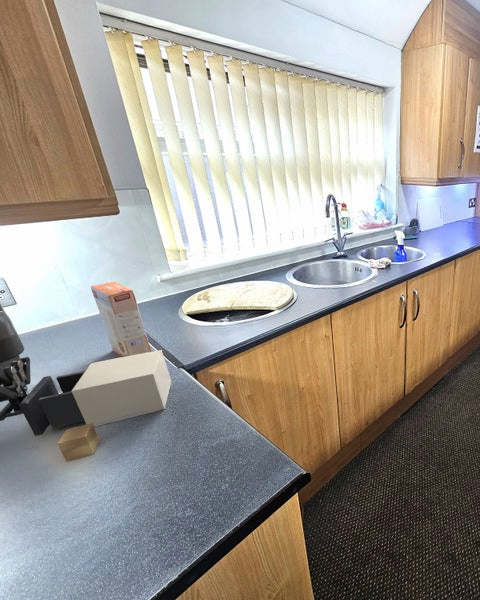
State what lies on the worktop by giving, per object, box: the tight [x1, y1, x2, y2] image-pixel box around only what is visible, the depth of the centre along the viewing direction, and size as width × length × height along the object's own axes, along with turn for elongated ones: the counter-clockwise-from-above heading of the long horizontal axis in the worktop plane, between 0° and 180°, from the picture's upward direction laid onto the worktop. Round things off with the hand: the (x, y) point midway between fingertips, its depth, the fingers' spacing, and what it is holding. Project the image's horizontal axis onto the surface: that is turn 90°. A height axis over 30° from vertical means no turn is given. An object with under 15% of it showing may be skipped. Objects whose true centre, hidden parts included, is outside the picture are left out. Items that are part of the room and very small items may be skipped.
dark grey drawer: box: [0, 370, 86, 437], centre depth 70 cm, size 17×10×8 cm, turn 117°
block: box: [56, 423, 101, 463], centre depth 63 cm, size 4×4×4 cm
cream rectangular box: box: [72, 349, 172, 428], centre depth 75 cm, size 14×12×10 cm
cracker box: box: [90, 281, 152, 358], centre depth 94 cm, size 14×6×21 cm, turn 56°
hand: (24, 410), depth 68 cm, fingers closed
